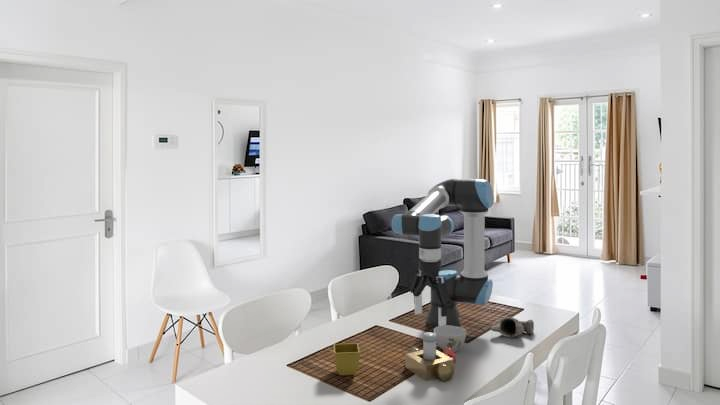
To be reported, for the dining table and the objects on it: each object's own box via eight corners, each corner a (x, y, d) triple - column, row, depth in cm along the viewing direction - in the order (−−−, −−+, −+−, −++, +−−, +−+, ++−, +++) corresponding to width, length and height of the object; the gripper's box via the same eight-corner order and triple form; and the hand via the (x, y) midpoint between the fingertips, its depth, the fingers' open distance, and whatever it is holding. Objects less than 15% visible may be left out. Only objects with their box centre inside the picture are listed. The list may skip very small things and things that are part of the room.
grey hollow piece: (504, 350, 220) (496, 342, 208) (495, 331, 225) (486, 322, 213) (540, 333, 216) (533, 324, 204) (529, 314, 221) (522, 304, 210)
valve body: (399, 363, 187) (399, 347, 186) (433, 355, 194) (433, 339, 194) (433, 385, 170) (433, 367, 169) (468, 374, 177) (469, 358, 177)
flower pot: (333, 367, 184) (333, 343, 183) (358, 366, 184) (357, 342, 184) (334, 378, 175) (334, 353, 174) (360, 377, 176) (360, 352, 175)
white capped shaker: (419, 366, 182) (420, 333, 181) (430, 363, 184) (431, 331, 183) (427, 371, 178) (428, 338, 176) (439, 368, 180) (439, 335, 179)
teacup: (454, 341, 208) (454, 322, 207) (473, 352, 196) (473, 332, 196) (422, 347, 202) (422, 328, 201) (439, 359, 190) (439, 338, 190)
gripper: (400, 254, 186) (400, 311, 189) (444, 268, 164) (444, 332, 167) (417, 251, 190) (417, 307, 192) (462, 265, 168) (462, 328, 171)
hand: (429, 319), depth 180 cm, fingers open, 13 cm apart
